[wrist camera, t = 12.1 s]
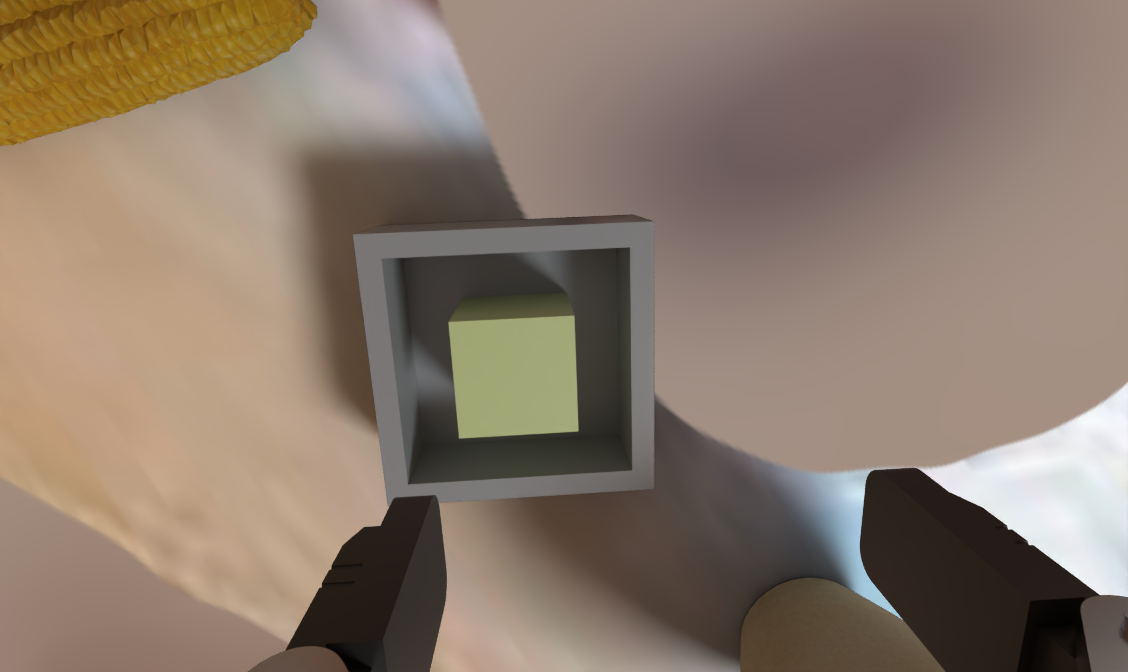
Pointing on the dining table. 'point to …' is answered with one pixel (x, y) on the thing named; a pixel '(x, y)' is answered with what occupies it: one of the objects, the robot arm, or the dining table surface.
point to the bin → (504, 268)
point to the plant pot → (827, 633)
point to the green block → (514, 365)
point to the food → (127, 54)
